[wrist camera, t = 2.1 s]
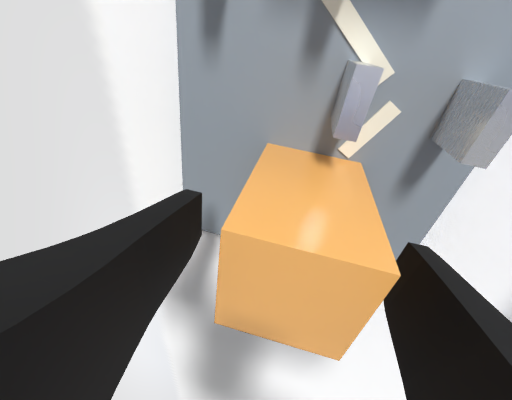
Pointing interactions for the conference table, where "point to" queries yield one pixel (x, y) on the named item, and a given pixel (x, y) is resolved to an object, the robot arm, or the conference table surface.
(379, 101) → the board
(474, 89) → the clips
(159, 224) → the robot arm
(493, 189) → the conference table surface
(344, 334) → the block
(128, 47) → the conference table surface
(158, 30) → the conference table surface
